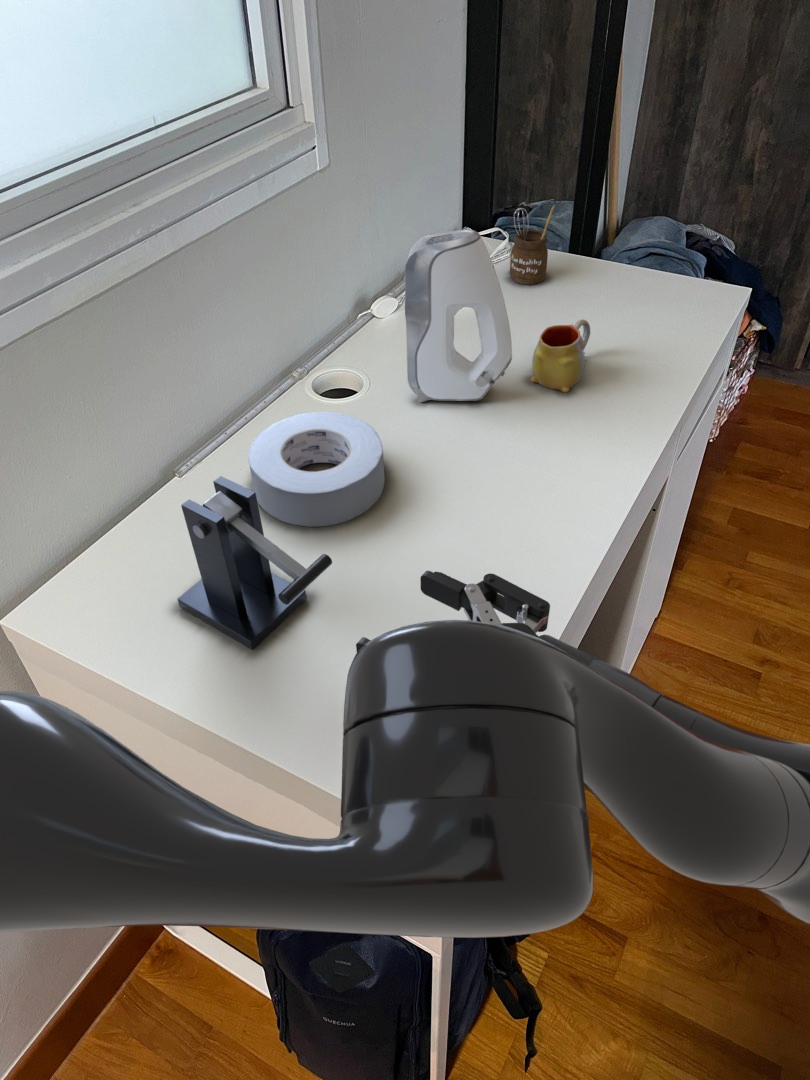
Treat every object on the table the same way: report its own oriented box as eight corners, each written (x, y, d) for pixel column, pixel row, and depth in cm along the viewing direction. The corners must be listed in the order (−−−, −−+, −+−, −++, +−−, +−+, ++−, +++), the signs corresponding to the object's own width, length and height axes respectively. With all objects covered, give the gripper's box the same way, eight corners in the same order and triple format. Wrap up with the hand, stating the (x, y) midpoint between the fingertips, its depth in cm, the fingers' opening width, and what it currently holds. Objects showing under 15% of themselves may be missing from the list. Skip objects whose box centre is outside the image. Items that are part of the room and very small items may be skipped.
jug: (407, 402, 108) (401, 239, 94) (412, 381, 112) (407, 221, 98) (508, 407, 107) (518, 241, 92) (509, 385, 111) (520, 223, 96)
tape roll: (405, 504, 93) (404, 468, 90) (276, 542, 89) (270, 507, 86) (357, 432, 104) (354, 398, 100) (239, 464, 99) (232, 430, 96)
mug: (564, 398, 108) (570, 353, 104) (520, 381, 111) (524, 337, 107) (609, 360, 115) (616, 317, 110) (566, 345, 118) (572, 302, 114)
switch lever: (330, 570, 75) (334, 555, 73) (287, 610, 71) (290, 596, 69) (232, 495, 77) (234, 479, 76) (186, 531, 74) (186, 515, 72)
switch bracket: (307, 599, 83) (290, 494, 73) (252, 650, 78) (227, 545, 69) (235, 561, 87) (210, 457, 78) (179, 607, 82) (146, 503, 73)
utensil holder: (514, 267, 137) (519, 194, 129) (551, 272, 136) (558, 199, 127) (504, 282, 133) (508, 208, 125) (542, 288, 132) (549, 213, 123)
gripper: (630, 610, 59) (441, 527, 66) (535, 752, 51) (331, 639, 58) (614, 675, 64) (441, 591, 71) (526, 813, 56) (339, 703, 63)
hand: (392, 613), depth 64 cm, fingers open, 8 cm apart
